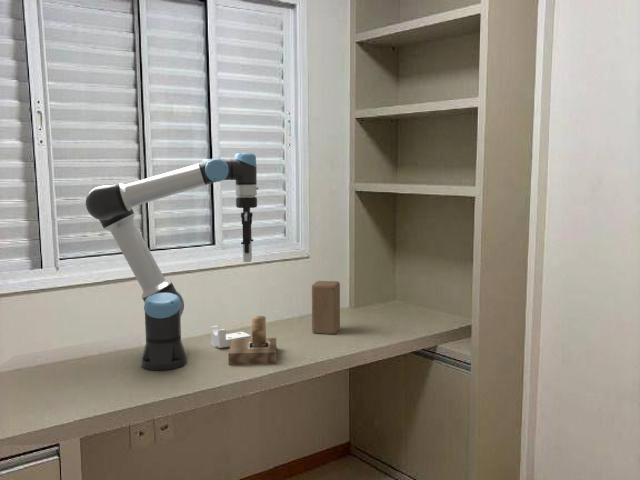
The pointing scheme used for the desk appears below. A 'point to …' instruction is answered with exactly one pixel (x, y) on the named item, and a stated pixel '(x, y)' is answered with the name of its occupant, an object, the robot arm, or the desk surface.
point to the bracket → (225, 337)
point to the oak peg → (258, 332)
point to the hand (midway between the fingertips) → (247, 260)
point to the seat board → (252, 352)
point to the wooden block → (326, 307)
